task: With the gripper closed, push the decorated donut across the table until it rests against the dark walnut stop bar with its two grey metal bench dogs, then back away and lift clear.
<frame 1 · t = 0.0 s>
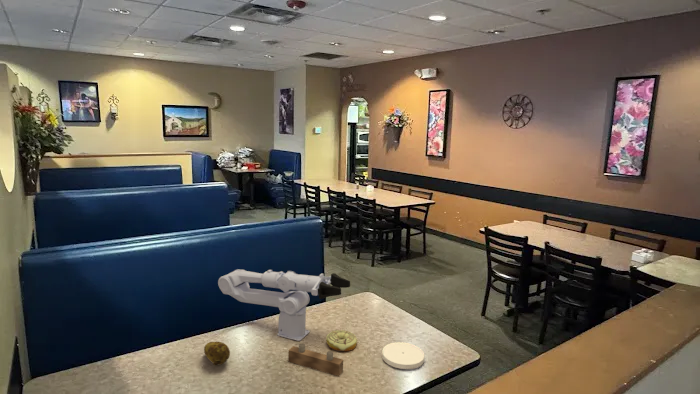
hand: (345, 287, 142), 22 cm above the table, tool horizontal, fingers open, 7 cm apart
stop bar: (315, 366, 133), on the table
potato: (216, 363, 133), on the table
plastic lid: (402, 360, 140), on the table
decorated donut: (341, 345, 147), on the table
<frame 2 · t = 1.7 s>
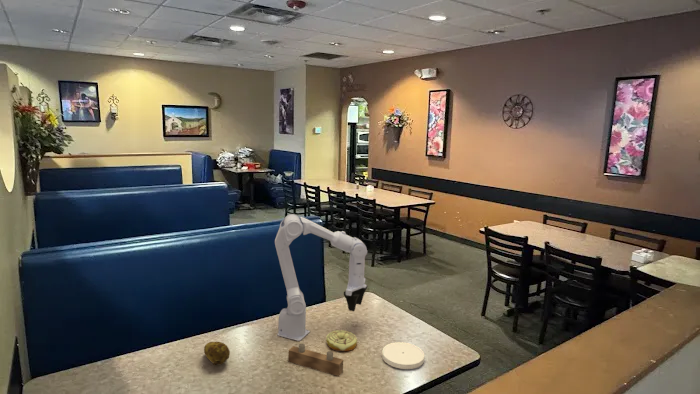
hand: (355, 307, 156), 9 cm above the table, tool pointing down, fingers open, 6 cm apart
nothing on the table moved.
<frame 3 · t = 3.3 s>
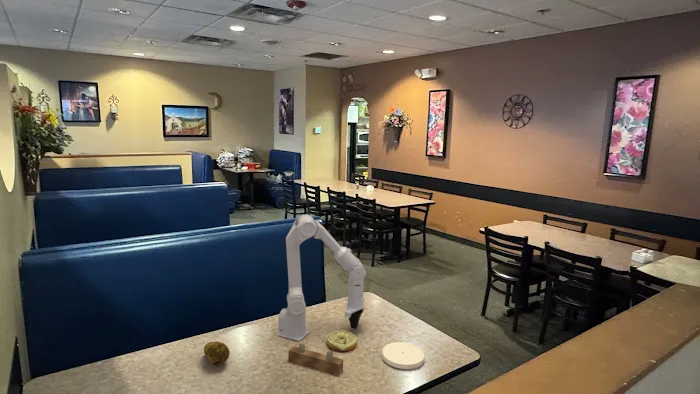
hand: (353, 327, 157), 1 cm above the table, tool pointing down, fingers closed
nothing on the table moved.
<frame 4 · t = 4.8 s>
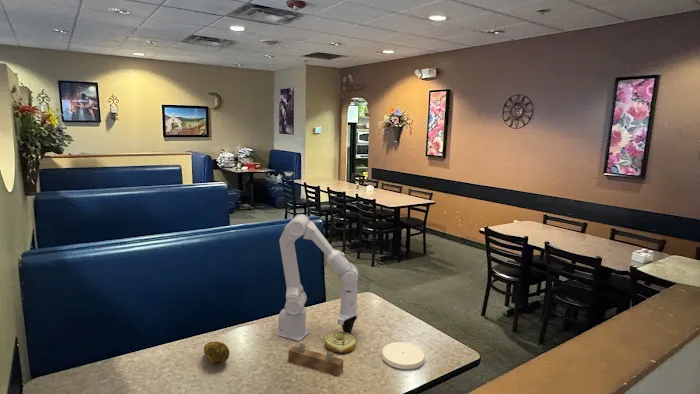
hand: (347, 335, 151), 1 cm above the table, tool pointing down, fingers closed
decorated donut: (339, 347, 146), on the table, touching gripper
everything else where it was.
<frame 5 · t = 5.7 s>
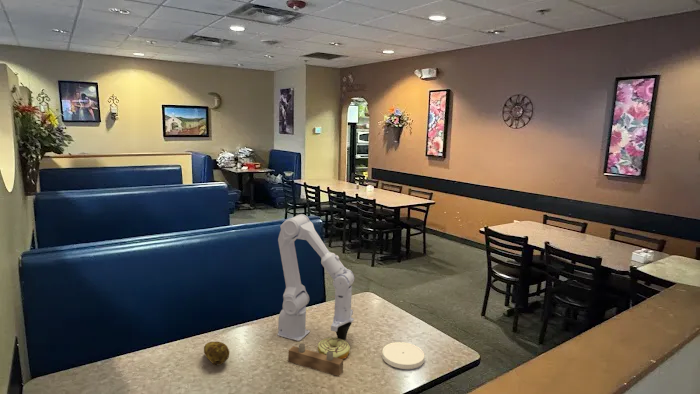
hand: (341, 341, 147), 1 cm above the table, tool pointing down, fingers closed
decorated donut: (333, 354, 141), on the table, touching gripper
everything else where it was.
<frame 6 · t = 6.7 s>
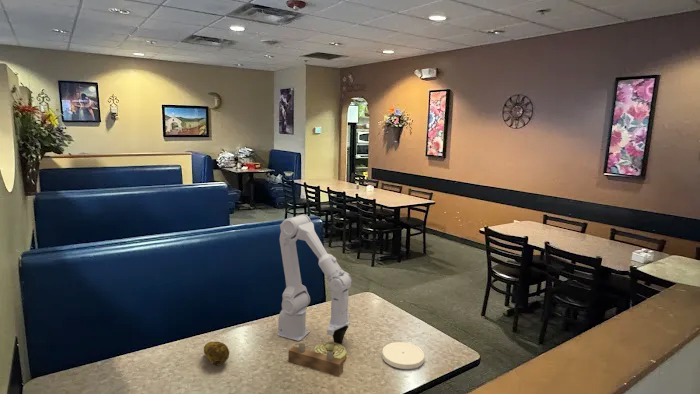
hand: (338, 345, 144), 1 cm above the table, tool pointing down, fingers closed
decorated donut: (329, 358, 138), on the table, touching gripper, stop bar
everything else where it was.
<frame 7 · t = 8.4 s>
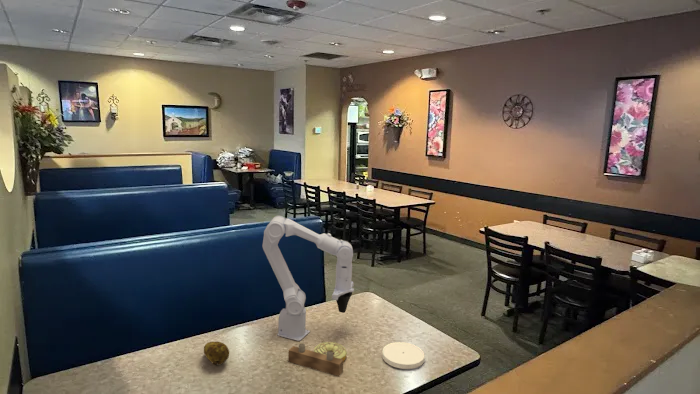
hand: (342, 311, 152), 9 cm above the table, tool pointing down, fingers closed
decorated donut: (329, 359, 138), on the table
everything else where it was.
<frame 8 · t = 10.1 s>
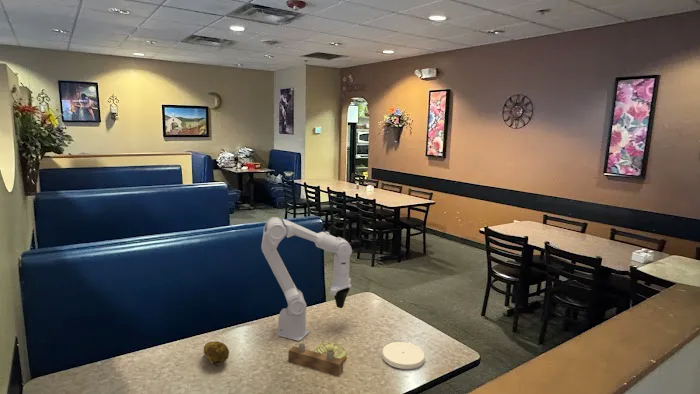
hand: (340, 307, 155), 9 cm above the table, tool pointing down, fingers closed
nothing on the table moved.
at the end: decorated donut inside the target area (0.3 cm from its centre), on the table; decorated donut moved 9.3 cm from its start; decorated donut tilted 1° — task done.
